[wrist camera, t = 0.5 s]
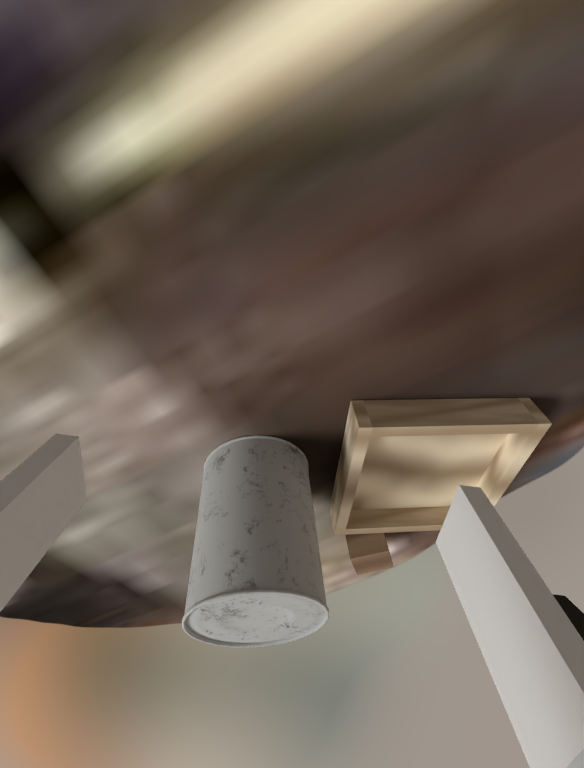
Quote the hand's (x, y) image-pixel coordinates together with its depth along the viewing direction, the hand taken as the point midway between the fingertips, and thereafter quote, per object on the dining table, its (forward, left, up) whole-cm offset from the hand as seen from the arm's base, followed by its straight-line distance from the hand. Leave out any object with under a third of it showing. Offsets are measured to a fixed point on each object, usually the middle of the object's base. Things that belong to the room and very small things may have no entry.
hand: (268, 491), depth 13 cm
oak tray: (+15, +14, -13) cm, 25 cm away
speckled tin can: (+16, -1, -14) cm, 21 cm away
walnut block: (+27, +11, -14) cm, 32 cm away
